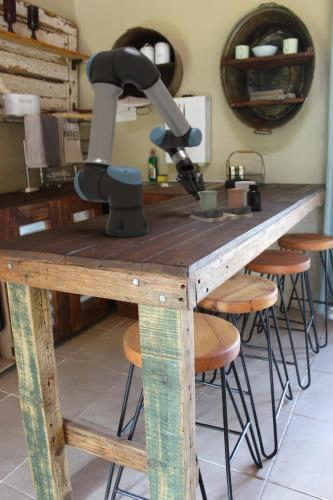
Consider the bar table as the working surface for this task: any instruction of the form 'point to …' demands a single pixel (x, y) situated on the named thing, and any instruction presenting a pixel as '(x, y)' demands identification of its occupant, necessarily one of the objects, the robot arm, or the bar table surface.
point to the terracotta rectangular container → (236, 197)
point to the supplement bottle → (254, 197)
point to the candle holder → (244, 186)
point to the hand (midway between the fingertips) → (204, 205)
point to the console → (222, 214)
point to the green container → (208, 200)
